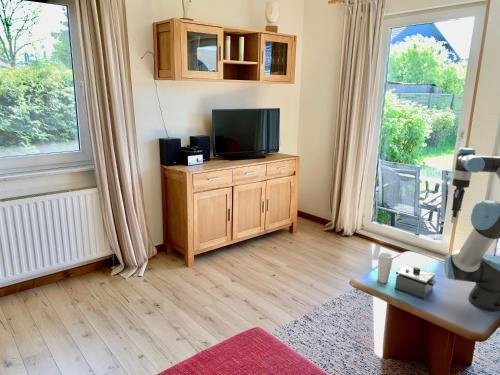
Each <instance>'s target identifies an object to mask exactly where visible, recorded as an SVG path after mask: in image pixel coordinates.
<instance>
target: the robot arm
mask: <svg viewBox="0 0 500 375" xmlns="http://www.w3.org/2000/svg"><path fill="white" fill-rule="evenodd" d="M452 172H453V177H454V178H452V186H453V187H456V188H455V189H454V192H453V194H452V196H453V199H452V206H451V211H452V212H451V219H450V223H451V224H457V223H458V220H459V216H460V212H461V211H462V209H461V208H462V204H463V201H464V196H465V192H466V190H465V188H469V187H470V183H471V178H472V173H474V174H475V173H479V172H480V173H482V172H483V173H492V174H493V173H494V174H496V177H497V178H498V180H499V181H500V156H492V155H478V154H477V155H476V149H474V148H472V147H470V148H469V147H459V148H458V149H457V154H456V160H455V167H454V170H453V171H452ZM471 212H472V213H471V214H470V221H471V226H472V227H473V229H472V231H471V232H470V234H469V235H468V237H467V238H466V240H465V242H464V243H463V245H462V246H461V247H460V249H457V250H455V251H454V253H453V254H446V255H445V257H444V259H443V260H444V261H443V262H444V265H443V266H444V275H445V277H446V278H447V279H448V280H453V281H459V282H460V281H461V282H468V283H475V285H474V286H473V287H472V289H471V290H470V292H469V293H468V298H467V299H468V301H469V302H470V303H471V304H472V305H474V306H475V307H477V308H478V309H479V308H480V309H482V310H485V311H488V312H494V311H497V313H498V311H500V257H499V256H495V255H492V254H486V253H487V251H488V250H489V248H490V247H491V245H493V243H494V242H495V240H498V239H500V201H496V200H492V199H491V200H489V199H488V200H480V201H478V202H476V204H475V205H474V206H473V208H472V210H471Z"/></svg>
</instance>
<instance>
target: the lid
mask: <svg viewBox="0 0 500 375" xmlns="http://www.w3.org/2000/svg"><path fill="white" fill-rule="evenodd" d="M399 269H400V270H399ZM399 269H398V270H399V271H398V270H397V271H398V272H397V271H396V272H397V273H398V274H401V275H404V276H407V277H410V278H413V279H416V280H419V281H422V282H425V283H427V282H428V281H429V280H430V279H431V278H432V277H433V276H434V275H435V276H436V273H434V272H431V271H429V270H425V269H423V268H419V267H417V266H413V265H409V264H406V265H404V266H403V267H402V268H399Z"/></svg>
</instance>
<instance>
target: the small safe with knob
mask: <svg viewBox="0 0 500 375" xmlns="http://www.w3.org/2000/svg"><path fill="white" fill-rule="evenodd" d="M400 269H401V268H399V269H398V270H397V271H396V272H395V274H396V278H395V286H394V290H395V291H398V292H401V293H404V294H406V295H409V296H412V297H414V298H418V299H420V300H423V301H424V300H425V299H426V298H427V296H428V295H429V294H431V293H432V291H433V289H434V286H435V284H436V282H437V280H435V277H436V274H435V275H434V276H433V277H432V278H431V279H430V280H429V281H428V282H427V283H425V282H422V281H419V280H416V279H413V278H410V277H407V276H404V275H401V274H398V273H397V272H398V271H399V270H400Z"/></svg>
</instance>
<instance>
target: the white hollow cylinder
mask: <svg viewBox="0 0 500 375" xmlns="http://www.w3.org/2000/svg"><path fill="white" fill-rule="evenodd" d="M393 258H394V256H393V254H391V253H389V252H380V253H379V255H378V259H377V260H378V261H377V262H378V263H377V264H378V265H377V268H378V269H377V281H378V282H379V283H381V284H387V283H388V282H389V278H390V274H391V270H392V266H393Z"/></svg>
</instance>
